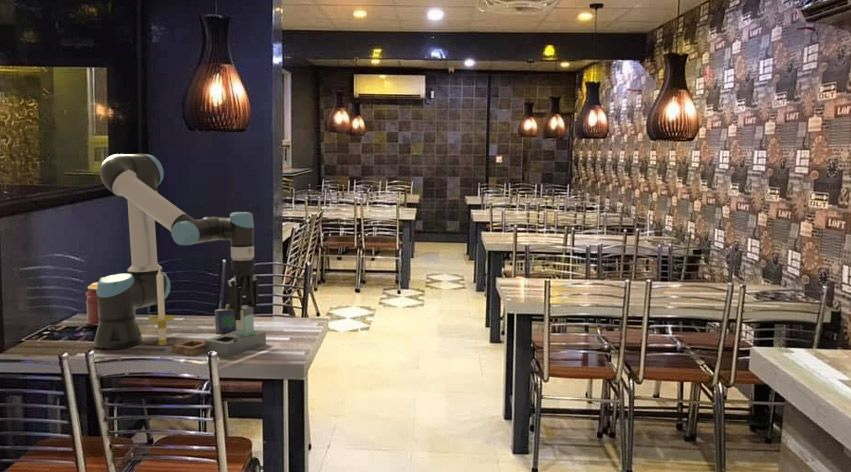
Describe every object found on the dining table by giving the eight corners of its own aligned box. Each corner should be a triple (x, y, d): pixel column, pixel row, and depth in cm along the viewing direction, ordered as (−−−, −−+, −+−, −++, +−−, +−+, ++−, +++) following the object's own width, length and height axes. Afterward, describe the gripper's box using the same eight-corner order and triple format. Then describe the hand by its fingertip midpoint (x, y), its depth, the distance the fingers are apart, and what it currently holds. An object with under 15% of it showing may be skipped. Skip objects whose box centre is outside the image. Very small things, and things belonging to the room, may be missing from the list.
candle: (155, 342, 257) (152, 265, 253) (183, 342, 256) (180, 265, 252) (141, 349, 247) (137, 270, 244) (170, 350, 246) (167, 270, 243)
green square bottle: (236, 343, 248) (235, 307, 247) (245, 340, 252) (244, 305, 250) (245, 344, 246) (244, 309, 245) (254, 341, 250) (253, 306, 248)
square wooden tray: (172, 354, 241) (171, 345, 241) (193, 347, 249) (192, 339, 249) (192, 357, 237) (191, 348, 237) (212, 351, 245) (212, 342, 245)
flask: (215, 335, 266) (214, 305, 265) (215, 333, 269) (214, 304, 268) (241, 333, 269) (241, 304, 267) (241, 331, 271) (240, 303, 270)
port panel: (205, 355, 240) (204, 339, 239) (243, 342, 256) (243, 327, 255) (228, 359, 235) (227, 343, 234) (266, 346, 251) (265, 330, 250)
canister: (86, 327, 278) (83, 281, 276) (88, 320, 290) (85, 275, 288) (123, 324, 282) (121, 278, 280) (123, 317, 294) (121, 273, 292)
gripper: (233, 263, 236) (235, 334, 239) (268, 256, 251) (270, 323, 254) (215, 261, 240) (218, 331, 243) (251, 254, 255) (253, 321, 258)
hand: (244, 327), depth 248 cm, fingers closed on green square bottle, 4 cm apart
